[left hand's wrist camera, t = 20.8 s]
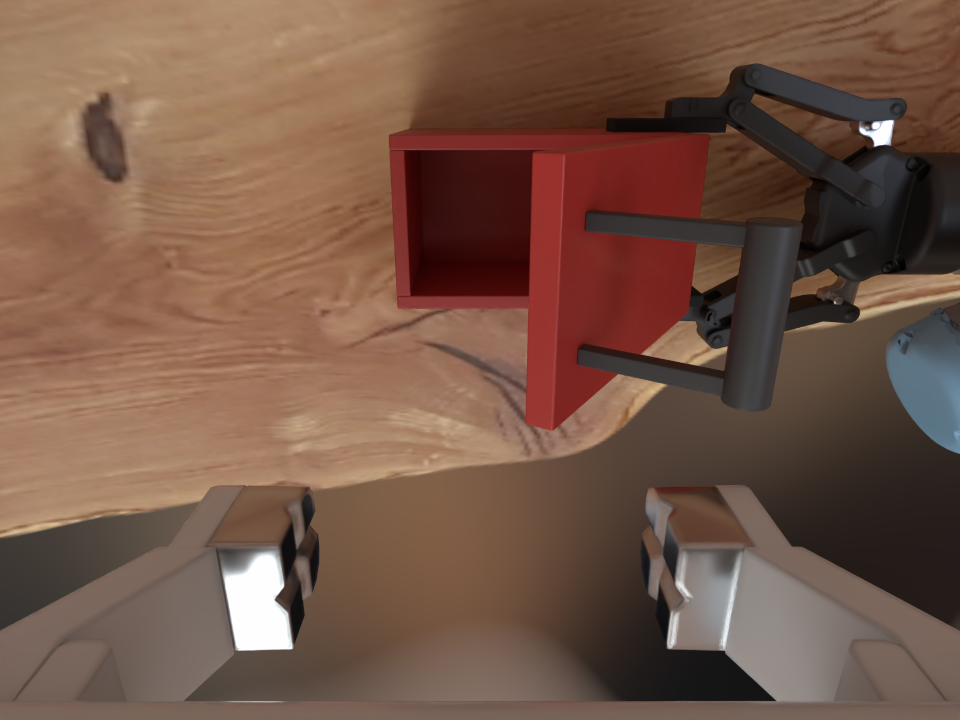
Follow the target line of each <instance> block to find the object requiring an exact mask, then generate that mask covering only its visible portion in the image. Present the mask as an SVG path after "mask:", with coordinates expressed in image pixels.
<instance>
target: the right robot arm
mask: <svg viewBox="0 0 960 720" xmlns="http://www.w3.org/2000/svg"><path fill="white" fill-rule="evenodd" d="M754 94H757V95H760V96H763V97H767V98H770V99H773V100H776V101H779V102H782V103H785V104H788V105H791V106H794V107H797V108H800V109H803V110H806V111H809V112H812V113H815V114H818V115H821V116H824V117H827V118H831V119H834V120H840V121H851V123H850V127H851V129H852V132H853V133H855V134H857V135H861V136H863V137H864V138H865V141H866V146H864V147H862V148H861V149H859V150H858V151H856V152H854V153H853V154H851V155H850V156H848V157H847V158H845V159H844V160H842V161H840V160H838V159H836V158H834V157H832V156H830V155H828V154H826V153H824V152H823V151H821V150H820V149H818V148H817V147H815V146H814V145H812V144H811V143H810V142H808V141H807V140H805V139H804V138H802V137H801V136H799V135H798V134H796V133H795V132H793V131H792V130H790V129H789V128H787V127H786V126H784V125H783V124H782V123H780V122H779V121H777V120H776V119H774V118H773V117H771V116H770V115H768V114H767V113H765V112H764V111H762V110H761V109H759V108H758V107H756V106H755V105H753V104H752V103H751V102H750V101H751V99H752V97H753V95H754ZM906 109H907V104H906V102H905V101H904V100H903V99H901V98H883V99H864V98H861V97H858V96H855V95H852V94H849V93H846V92H843V91H840V90H837V89H834V88H831V87H828V86H825V85H822V84H819V83H816V82H813V81H810V80H807V79H804V78H801V77H798V76H795V75H792V74H789V73H786V72H783V71H780V70H777V69H774V68H771V67H768V66H765V65H762V64H750V65H744V66H739V67H736V68H735V69H734V70H733V71H732V72H731V74H730V82H729V84H728V86H727V89H726V90H725V92H724V93H723V94H722V95H720V96H719V97H716V98H673V99H671V100H668V101H666V105H665V115H664V118H607V125H606V131H611V132H684V133H725V131H726V124H729V125H730V126H732V127H733V128H735V129H736V130H738V131H739V132H741V133H742V134H744V135H745V136H747V137H748V138H750V139H751V140H753V141H754V142H756V143H757V144H759V145H760V146H762V147H763V148H765V149H766V150H768V151H769V152H771V153H772V154H774V155H775V156H777V157H778V158H780V159H781V160H783V161H784V162H786V163H787V164H789V165H790V166H792V167H793V168H795V169H796V171H797V172H798V173H800V174H801V175H803V176H804V177H806V178H807V179H809V180H810V181H812V182H813V183H812V185H811V187H810V188H806V193H805V198H804V203H805V214H804V216H803V218H802V221H801V223H802V224H803V229H802V234H801V240H800V245H799V251H798V256H797V262H796V268H795V273H794V279H793V282H795V281H797V280H799V279H800V278H803V277H806V276H813V275H816V274H818V273H820V272H822V271H824V270H826V269H828V268H829V269H830V270H831V271H832V272H833V273H835V274H836V275H837V276H838V278H837V280H836V282H835V283H834V284H832V285H830V286H825V287H822V288H819V289H818V290H817V294H808V295H801V296H796V297H792V298H790V301H789V306H788V312H787V318H786V323H785V329H784V331H788V330H792V329H795V328H799V327H803V326H807V325H811V324H815V323H819V322H822V321H825V322H840V323H852V322H854V321H856V320H857V319H858V317H859V315H860V310H859V308H858V307H857V306H855V305H853V303H854V300H855V297H856V293H857V290H858V286H859V283H860V282H861V281H864V280H866V279H868V278H870V277H873V276H876V275H881V274H948V273H953V274H960V153H903V152H900V151H898V150H897V149H896V148H894V147H892V146H890V145H891V139H892V133H893V126H894V120H897V119H900V118H901V117H902V116H903V115H904V114H905V112H906ZM737 281H738V275H737V276H735V277H733V278H731V279H729V280H727V281H725V282H723V283H721V284H719V285H718V286H716V287H714V288H712V289H710V290H708V291H706V292H704V293H702V294H701V293H700V292H699V291H697V290H696V289H695V288H694V287H693V286H692V287H691V295H690V303H689V312H688V314H686V315H685V316H684V317H683V318H682V319H681V320H679V321H696V324H697V333H698V334H699V336H700V337H701V338H702V339H703V340H704V341H705V342H706V343H707V344H708V345H709V346H710V347H711V348H714V349H718V348H722V347H726V346H728V342H729V335H730V328H731V322H732V315H733V308H734V301H735V295H736V288H737ZM731 313H732V314H731ZM886 365H887V369H888V373H889V377H890V379H891V382H892V385H893V387H894V389H895V391H896V393H897V395H898V397H899V399H900V400H901V402H902V404H903V405H904V407H905V409H906V410H907V412H908V413H909V414H910V416H911V417H912V419H913V420H914V421H915V422H916V424H917V425H918V426H919V427H920V428H921V429H922V430H923V431H924V432H925V433H926V434H927V435H928V436H929V437H930V438H931V439H933V440H934V441H935V442H936V443H938V444H939V445H941V446H943V447H945V448H946V449H949V450H951V451H953V452H956V453H959V454H960V303H957V304H955V305H952V306H950V307H947V308H945V309H941V308H938V309H936V310H933V311H932V312H931V314H930V315H929V316H927V317H925V318H923V319H921V320H919V321H916V322H914V323H912V324H910V325H908V326H906V327H904V328H902V329H900V330H898V331H897V332H896V333H895V334H894V335H893V336H892V337H891V338H890V340H889V342H888V345H887V349H886Z"/></svg>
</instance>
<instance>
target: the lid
mask: <svg viewBox="0 0 960 720" xmlns="http://www.w3.org/2000/svg"><path fill="white" fill-rule="evenodd" d="M709 138H710V136H709V135H708V134H685V135H676V136H667V137H658V138H649V139H640V140H632V141H623V142H614V143H605V144H596V145H587V146H579V147H570V148H561V149H552V150H543V151H535V152H533V158H532V196H531V234H530V273H529V311H528V350H527V388H526V424H529V425H532V426H536V427H540V428H543V429H547V430H550V431H553V430H554V429H555V428H557V427H558V426H559V425H560V424H561V423H562V422H563V421H565V420H566V419H567V418H568V417H569V416H570V415H572V414H573V413H574V412H575V411H576V410H577V409H578V408H580V407H581V406H582V405H583V404H584V403H585V402H586V401H588V400H589V399H590V398H591V397H592V396H593V395H594V394H596V393H597V392H598V391H599V390H600V389H601V388H603V387H604V386H605V385H606V384H607V383H608V382H609V381H611V380H612V379H613V378H614V377H615V376H616V375H617V374H621V375H626V376H630V377H635V378H640V379H644V380H649V381H653V382H658V383H663V384H667V385H672V386H676V387H681V388H686V389H690V390H695V391H700V392H704V393H709V394H713V395H718V396H721V400H722V402H723V403H724V404H726V405H728V406H730V407H732V408H735V409H738V410H743V411H752V412H756V411H763V410H766V409H768V408H769V407H770V405H771V401H772V395H773V390H774V384H775V379H776V373H777V368H778V362H779V357H780V351H781V345H782V340H783V334H784V329H785V323H786V318H787V312H788V306H789V301H790V295H791V290H792V284H793V279H794V273H795V268H796V262H797V256H798V251H799V245H800V240H801V234H802V229H803V224H802V223H801V222H799V221H796V220H792V219H785V218H772V217H760V218H751V219H748V220H747V221H746V222H736V221H724V220H712V219H700V212H701V204H702V196H703V187H704V179H705V171H706V163H707V154H708V146H709ZM697 243H703V244H712V245H722V246H732V247H742V254H741V261H740V267H739V274H738V281H737V288H736V295H735V301H734V308H733V315H732V322H731V328H730V335H729V342H728V349H727V356H726V362H725V369H724V371H721V370H716V369H711V368H706V367H701V366H696V365H690V364H685V363H680V362H675V361H670V360H665V359H660V358H655V357H650V356H645V355H640V354H642V353H643V352H644V351H645V350H646V349H647V348H648V347H650V346H651V345H652V344H653V343H654V342H655V341H657V340H658V339H659V338H660V337H661V336H662V335H663V334H665V333H666V332H667V331H668V330H669V329H670V328H671V327H673V326H674V325H675V324H676V323H677V322H678V321H679V320H681V319H682V318H683V317H684V316H685V315H686V314H688V312H689V303H690V295H691V287H692V278H693V270H694V262H695V254H696V245H697Z"/></svg>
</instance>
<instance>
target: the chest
mask: <svg viewBox="0 0 960 720" xmlns="http://www.w3.org/2000/svg"><path fill="white" fill-rule="evenodd" d="M685 134H692V133H684V132H611V131H606V128H578V129H408V130H404V131H401V132H397V133H394V134H390V135H389V148H390V169H391V189H392V208H393V228H394V247H395V266H396V286H397V304H398V308H399V309H500V308H529V273H530V234H531V196H532V158H533V152H535V151H543V150H552V149H561V148H570V147H579V146H587V145H596V144H605V143H614V142H623V141H632V140H640V139H649V138H658V137H667V136H676V135H685Z"/></svg>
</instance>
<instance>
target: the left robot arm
mask: <svg viewBox="0 0 960 720" xmlns="http://www.w3.org/2000/svg"><path fill="white" fill-rule="evenodd" d="M314 512H315V505H314V498H313V492H312V490H311V489H310V487H296V486H245V485H220V486H214V487H211V488H210V489H209V491H208V492H207V493H206V495H205V496H204V498H203V499H202V500H201V502H200V503H199V505H198V506H197V507H196V509H195V510H194V511H193V513H192V514H191V516H190V517H189V518H188V520H187V521H186V523H185V524H184V525H183V527H182V528H181V530H180V531H179V532H178V534H177V535H176V536H175V538H174V539H173V541H172V542H171V543H170V545H169V546H168V547H157V548H155V549H153V550H151V551H150V552H148V553H146V554H144V555H142V556H140V557H138V558H136V559H135V560H133V561H131V562H129V563H127V564H125V565H123V566H121V567H119V568H118V569H116V570H114V571H112V572H110V573H108V574H106V575H104V576H103V577H101V578H99V579H97V580H95V581H93V582H91V583H89V584H88V585H86V586H84V587H82V588H80V589H78V590H76V591H74V592H73V593H71V594H69V595H67V596H65V597H63V598H61V599H59V600H57V601H56V602H54V603H52V604H50V605H48V606H46V607H44V608H42V609H40V610H39V611H37V612H35V613H33V614H31V615H29V616H27V617H25V618H24V619H22V620H20V621H18V622H16V623H14V624H12V625H10V626H8V627H7V628H5V629H3V630H1V631H0V720H960V631H959V630H957V629H955V628H953V627H951V626H949V625H947V624H945V623H943V622H942V621H940V620H938V619H936V618H934V617H932V616H930V615H928V614H927V613H925V612H923V611H921V610H919V609H917V608H915V607H913V606H912V605H910V604H908V603H906V602H904V601H902V600H900V599H898V598H897V597H895V596H893V595H891V594H889V593H887V592H885V591H883V590H882V589H880V588H878V587H876V586H874V585H872V584H870V583H868V582H867V581H865V580H863V579H861V578H859V577H857V576H855V575H853V574H852V573H850V572H848V571H846V570H844V569H842V568H840V567H838V566H837V565H835V564H833V563H831V562H829V561H827V560H825V559H823V558H821V557H820V556H818V555H816V554H814V553H812V552H810V551H808V550H807V549H805V548H803V547H792V546H791V545H790V544H789V542H788V541H787V539H786V538H785V537H784V535H783V534H782V532H781V531H780V530H779V528H778V527H777V526H776V524H775V523H774V522H773V520H772V519H771V517H770V516H769V515H768V513H767V512H766V510H765V509H764V508H763V506H762V505H761V504H760V502H759V501H758V499H757V498H756V497H755V495H754V494H753V493H752V491H751V490H750V488H748V487H746V486H744V485H727V486H702V487H663V488H649V490H648V493H647V496H646V503H645V512H646V515H647V517H648V520H649V523H650V526H649V527H648V528H647V529H646V530H645V531H644V532H643V533H642V540H641V569H642V574H643V579H644V583H645V586H646V589H647V592H648V594H649V595H650V596H651V597H653V598H654V599H655V600H657V605H656V614H655V616H656V618H657V621H658V624H659V627H660V630H661V632H662V635H663V638H664V641H665V644H666V646H667V649H689V650H724V651H726V654H727V655H728V656H729V657H730V658H731V659H732V660H733V661H734V662H735V663H737V664H738V665H739V666H740V667H741V668H742V669H743V670H744V671H745V672H746V673H747V674H748V675H750V676H751V677H752V678H753V679H754V680H755V681H756V682H757V683H758V684H759V685H760V686H761V687H763V688H764V689H765V690H766V691H767V692H768V693H769V694H770V695H771V696H772V697H773V698H774V699H775V700H777V701H443V702H442V701H432V702H431V701H425V702H424V701H418V702H417V701H407V702H405V701H401V702H400V701H184V700H185V699H186V698H187V697H188V696H189V695H190V694H191V693H192V692H193V691H194V690H196V689H197V688H198V687H199V686H200V685H201V684H202V683H203V682H204V681H205V680H206V679H207V678H209V677H210V676H211V675H212V674H213V673H214V672H215V671H216V670H217V669H218V668H219V667H220V666H222V665H223V664H224V663H225V662H226V661H227V660H228V659H229V658H230V657H231V656H232V655H234V651H235V650H270V649H293V646H294V644H295V641H296V638H297V635H298V632H299V630H300V627H301V624H302V621H303V618H304V615H305V614H304V605H303V600H304V599H306V598H307V597H308V596H310V595H311V594H312V592H313V589H314V586H315V583H316V579H317V573H318V566H319V540H318V533H317V532H316V531H315V530H314V529H313V528H312V527H311V526H310V522H311V520H312V517H313V515H314Z"/></svg>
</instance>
